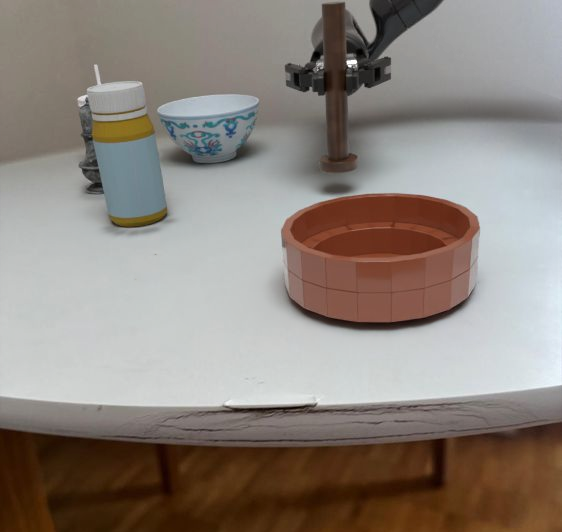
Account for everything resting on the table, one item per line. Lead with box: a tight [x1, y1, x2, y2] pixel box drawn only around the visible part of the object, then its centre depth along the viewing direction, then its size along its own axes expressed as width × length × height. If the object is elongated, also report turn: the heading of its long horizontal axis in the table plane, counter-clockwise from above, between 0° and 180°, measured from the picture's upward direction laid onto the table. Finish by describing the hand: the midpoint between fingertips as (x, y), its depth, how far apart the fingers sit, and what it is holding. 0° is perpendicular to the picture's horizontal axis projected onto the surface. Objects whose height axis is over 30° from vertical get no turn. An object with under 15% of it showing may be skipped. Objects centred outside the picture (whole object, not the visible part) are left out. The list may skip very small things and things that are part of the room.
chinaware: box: [156, 93, 260, 164], centre depth 104 cm, size 15×15×8 cm
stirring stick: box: [318, 1, 359, 174], centre depth 81 cm, size 5×5×18 cm
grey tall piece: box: [78, 97, 104, 195], centre depth 93 cm, size 6×6×12 cm
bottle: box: [86, 80, 168, 228], centre depth 80 cm, size 7×7×15 cm
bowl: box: [280, 192, 481, 323], centre depth 61 cm, size 17×17×6 cm
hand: (334, 85), depth 78 cm, fingers closed on stirring stick, 2 cm apart
